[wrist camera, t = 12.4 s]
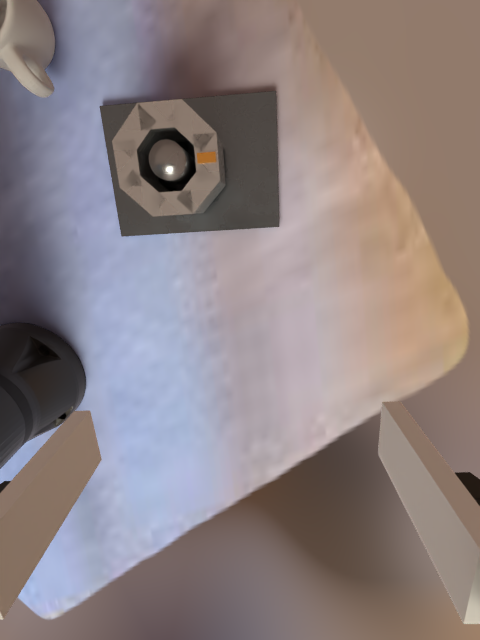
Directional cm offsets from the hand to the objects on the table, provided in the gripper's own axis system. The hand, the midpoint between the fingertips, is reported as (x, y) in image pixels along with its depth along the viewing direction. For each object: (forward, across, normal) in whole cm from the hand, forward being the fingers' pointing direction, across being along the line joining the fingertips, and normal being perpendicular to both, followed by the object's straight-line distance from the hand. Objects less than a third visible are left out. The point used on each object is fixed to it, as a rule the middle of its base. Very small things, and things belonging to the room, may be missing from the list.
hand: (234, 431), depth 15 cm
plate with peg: (+27, -5, +14) cm, 31 cm away
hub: (+25, -6, +14) cm, 29 cm away
